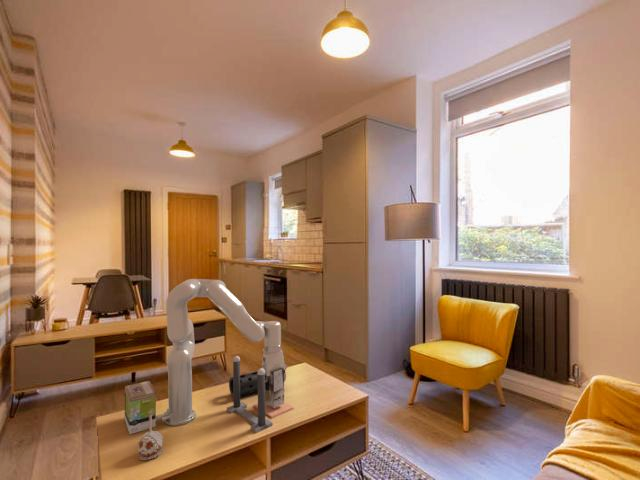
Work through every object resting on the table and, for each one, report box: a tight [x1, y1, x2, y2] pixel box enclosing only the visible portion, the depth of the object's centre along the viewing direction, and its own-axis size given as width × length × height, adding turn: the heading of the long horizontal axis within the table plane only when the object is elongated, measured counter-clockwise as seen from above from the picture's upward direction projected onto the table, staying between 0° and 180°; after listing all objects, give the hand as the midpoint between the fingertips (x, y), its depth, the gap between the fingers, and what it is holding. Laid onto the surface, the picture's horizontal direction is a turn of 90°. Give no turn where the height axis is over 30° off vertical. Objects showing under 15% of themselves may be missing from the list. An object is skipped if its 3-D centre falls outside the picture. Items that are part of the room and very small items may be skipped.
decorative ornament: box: [137, 412, 164, 461], centre depth 119 cm, size 8×8×15 cm
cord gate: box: [226, 355, 274, 434], centre depth 144 cm, size 8×25×24 cm, turn 42°
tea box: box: [124, 380, 157, 435], centre depth 141 cm, size 15×10×15 cm, turn 37°
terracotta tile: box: [253, 401, 295, 419], centre depth 153 cm, size 12×15×1 cm
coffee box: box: [265, 368, 285, 408], centre depth 153 cm, size 9×6×16 cm
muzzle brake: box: [228, 370, 287, 397], centre depth 171 cm, size 10×28×10 cm, turn 124°
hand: (272, 386), depth 153 cm, fingers closed on coffee box, 6 cm apart
